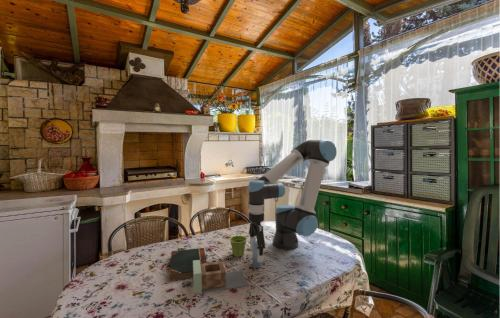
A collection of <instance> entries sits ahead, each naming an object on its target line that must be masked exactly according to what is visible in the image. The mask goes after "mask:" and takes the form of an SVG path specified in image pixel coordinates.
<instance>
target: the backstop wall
mask: <svg viewBox="0 0 500 318" xmlns="http://www.w3.org/2000/svg"><path fill="white" fill-rule="evenodd" d="M192 281H193V294H199V293H200V294H201V293H202V275H201V266H200V260H194V261H193V280H192Z"/></svg>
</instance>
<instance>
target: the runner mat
mask: <svg viewBox="0 0 500 318" xmlns="http://www.w3.org/2000/svg"><path fill="white" fill-rule="evenodd" d="M241 287H242V288H244V287H249V282H248V279H247V278H246V276H245V274H244V272H243V270H235V271H227V272H226V286H222V287H216V288H209V289H202V292H201V293H202V294H205V293H209V292H212V293H213V292H217V291H222V290H224V291H225V290H231V289H237V288H241Z"/></svg>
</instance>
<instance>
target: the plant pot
mask: <svg viewBox="0 0 500 318" xmlns="http://www.w3.org/2000/svg"><path fill="white" fill-rule="evenodd" d="M247 241H248V238H247V237H246V236H244V235H235V236H234V235H233V236H231V237H230V238H229V242H230V245H231V253H232V255H233V256H234V257H236V258H239V257H242V256H243V257H244V255H245V249H246V244H247Z"/></svg>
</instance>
